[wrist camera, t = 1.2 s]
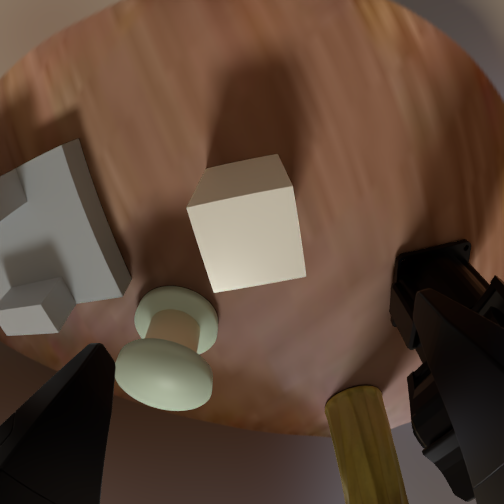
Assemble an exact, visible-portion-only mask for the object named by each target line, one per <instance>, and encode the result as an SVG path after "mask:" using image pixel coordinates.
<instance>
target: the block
mask: <svg viewBox="0 0 504 504" xmlns="http://www.w3.org/2000/svg"><path fill="white" fill-rule="evenodd" d="M186 208H187V212H188V215H189V218H190V221H191V225H192V228H193V231H194V234H195V237H196V240H197V243H198V247H199V250H200V253H201V256H202V259H203V262H204V265H205V268H206V271H207V274H208V277H209V280H210V283H211V286H212V289H213V292H214V293H217V292H223V291H229V290H234V289H240V288H246V287H252V286H258V285H263V284H269V283H274V282H280V281H285V280H291V279H296V278H301V277H306V271H305V263H304V256H303V249H302V242H301V235H300V228H299V222H298V215H297V209H296V203H295V196H294V190H293V185H292V183H291V181H290V179H289V177H288V175H287V172H286V170H285V168H284V166H283V164H282V162H281V160H280V157H279V155H278V154H273V155H268V156H263V157H258V158H253V159H248V160H243V161H238V162H233V163H229V164H224V165H220V166H215V167H211V168H206V169H205V171H204V173H203V175H202V177H201V179H200V181H199V183H198V185H197V187H196V189H195V191H194V193H193V195H192V197H191V199H190V201H189V203H188V205H187V207H186Z"/></svg>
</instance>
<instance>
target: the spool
mask: <svg viewBox="0 0 504 504" xmlns="http://www.w3.org/2000/svg"><path fill="white" fill-rule="evenodd" d="M135 326H136V329H137V331H138V333H139V335H140V336H141V338H142V339H138V340H135V341H132V342H130V343H128V344H126V345H125V346H124V347H123V348H122V349H121V351H120V353H119V355H118V358H117V361H116V363H115V366H116V371H115V379H116V381H117V382H118V384H119V385H120V387H121V388H122V389H123V390H124V391H125V392H126V393H127V394H129V395H130V396H131V397H133V398H135V399H136V400H138V401H140V402H142V403H144V404H146V405H149V406H152V407H155V408H159V409H164V410H171V411H184V410H191V409H194V408H197V407H200V406H201V405H203V404H205V403H206V402H207V401H208V400H209V398H210V396H211V393H212V383H213V373H212V370H211V368H210V366H209V364H208V363H207V362H206V361H205V360H204V359H203V358H202V357H201V356H200V355H199V354H201V353H203V352H205V351H207V350H208V349H209V348H210V347H212V345H213V344H214V343H215V340H216V338H217V331H218V316H217V313H216V311H215V309H214V307H213V306H212V305H211V303H210V302H209V301H208V300H207V299H206V298H204V297H203V296H201V295H200V294H198V293H197V292H194V291H192V290H190V289H187V288H183V287H178V286H163V287H159V288H156V289H153V290H151V291H149V292H148V293H147V294H145V296H144V297H143V298H142V299H141V301H140V303H139V306H138V308H137V310H136V313H135Z"/></svg>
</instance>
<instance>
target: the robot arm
mask: <svg viewBox="0 0 504 504" xmlns="http://www.w3.org/2000/svg"><path fill="white" fill-rule="evenodd" d="M464 247H465V248H464ZM470 250H471V244H470V242H469V241H467V240H460V241H456V242H451V243H447V244H443V245H438V246H434V247H429V248H425V249H420V250H416V251H411V252H407V253H402V254H400V255H398V256H397V258H396V261H395V277H394V283H393V285H392V287H391V298H390V310H389V312H390V314H391V323H392V325H393V326H394V327H397V328H398V330H399V332H400V334H401V335H402V337H403V339H404V341H405V344H406V346H407V348H409V349H410V350H413V349H416V351H417V353H418V355H419V357H420V359H421V361H422V363H423V364H422V365H421V366H420V367H419V368H418V369H417V370H416V371H415V372H412V373H411V374H410V375H409V376H408V377H407V382H408V391H409V400H410V411H411V423H412V428H413V433H414V435H415V436H416V438H417V440H418V442H419V443H420V444H421V446H422V447H423V448H424V450H423V451H422V453H423V455H424V456H425V457H427V458H428V459H429V460H431V461H432V462H433V463H434V464H435V465H436V466H437V467H438V468H439V470H440V471H441V472H442V474H443V475H444V477H445V478H446V480H447V482H448V484H449V486H450V487H451V489H452V491H453V493H454V494H455V495H456V496H457V497H459V498H461V499H463V500H464V501H467V502H468V501H471V500H473V499H475V498H476V502H477V504H504V282H503V281H502V280H501V279H500V278H498V277H497V276H496V275H495V276H494V278H493V279H492V280H491V282H490V283H491V284H490V285H489V284H488V283H487V281H486V280H485V279H484V278H483V277H482V276H481V275H480V274H479V273H478V272H477V271H476V270H475V269H474V268H473V267H472V265H471V264H470V263H469V256H470ZM402 260H405V261H404V262H402ZM401 262H402V263H401ZM115 371H116V366H115V362H114V360H113V358H112V357H111V356H110V354H109V353H108V351H107V350H106V348H105V347H104V345H103V344H101V343H91V344H89V345H87V346H86V347H85V348H84V349H83V350H82V351H81V352H79V353H78V354H77V355H76V356H75V357H74V358H73V359H72V360H71V361H69V362H68V363H67V364H66V365H65V366H64V367H63V368H62V369H61V370H59V371H58V372H57V373H56V374H55V375H54V376H53V377H52V378H51V379H50V380H48V381H47V382H46V383H45V384H44V385H43V386H42V387H41V388H40V389H39V390H38V391H37V392H36V393H35V394H33V396H31V397H30V398H29V399H28V400H27V401H26V402H25V403H24V404H23V405H22V406H21V407H20V408H18V409H17V410H16V412H15V413H13V414H12V415H11V416H10V417H9V418H8V419H7V420H6V421H5V422H4V423H3V424H2V425H1V426H0V504H100V496H101V486H102V485H101V484H102V476H103V467H104V460H105V459H104V458H105V451H106V445H107V438H108V432H109V425H110V419H111V413H112V403H113V391H114V380H115Z"/></svg>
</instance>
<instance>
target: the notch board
mask: <svg viewBox="0 0 504 504" xmlns="http://www.w3.org/2000/svg"><path fill="white" fill-rule="evenodd" d="M131 280H132V278H131V276H130V274H129V272H128V269H127V267H126V265H125V263H124V260H123V258H122V256H121V254H120V251H119V249H118V247H117V244H116V242H115V239H114V237H113V234H112V232H111V230H110V227H109V225H108V222H107V219H106V217H105V214H104V212H103V209H102V206H101V204H100V201H99V198H98V196H97V193H96V190H95V187H94V184H93V181H92V179H91V176H90V173H89V170H88V167H87V164H86V161H85V157H84V154H83V151H82V148H81V144H80V141H79V138H78V139H75V140H73V141H70V142H68V143H65V144H63V145H60V146H58V147H56V148H54V149H52V150H50V151H48V152H46V153H44V154H42V155H40V156H38V157H36V158H34V159H32V160H30V161H28V162H26V163H25V164H23V165H21V166H19V167H17V168H15V169H13V170H12V171H10V172H8V173H6V174H4V175H2V176H0V326H1V328H2V329H3V330H4V332H5V333H6V335H7V336H11V335H31V334H47V333H59V331H60V330H61V328H62V326H63V325H64V323H65V321H66V320H67V318H68V316H69V315H70V313H71V311H72V310H73V308H74V307H75V305H76V304H78V303H84V302H91V301H98V300H105V299H111V298H118V297H123V295H124V293H125V291H126V289H127V287H128V286H129V284H130V282H131Z"/></svg>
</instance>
